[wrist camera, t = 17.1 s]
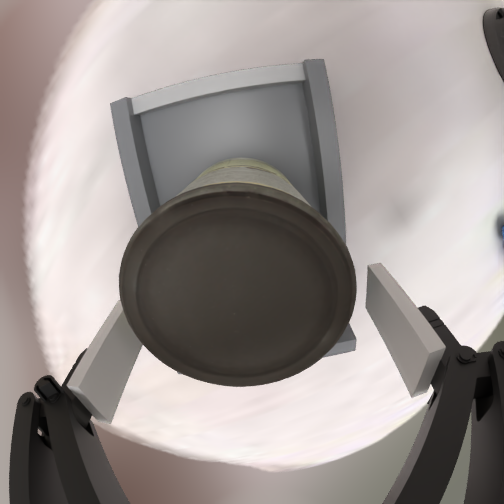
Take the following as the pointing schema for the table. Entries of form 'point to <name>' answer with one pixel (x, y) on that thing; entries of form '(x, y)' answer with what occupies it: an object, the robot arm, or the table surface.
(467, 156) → the table surface
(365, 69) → the table surface
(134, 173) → the lane
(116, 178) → the table surface
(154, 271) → the coffee can
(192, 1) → the table surface
